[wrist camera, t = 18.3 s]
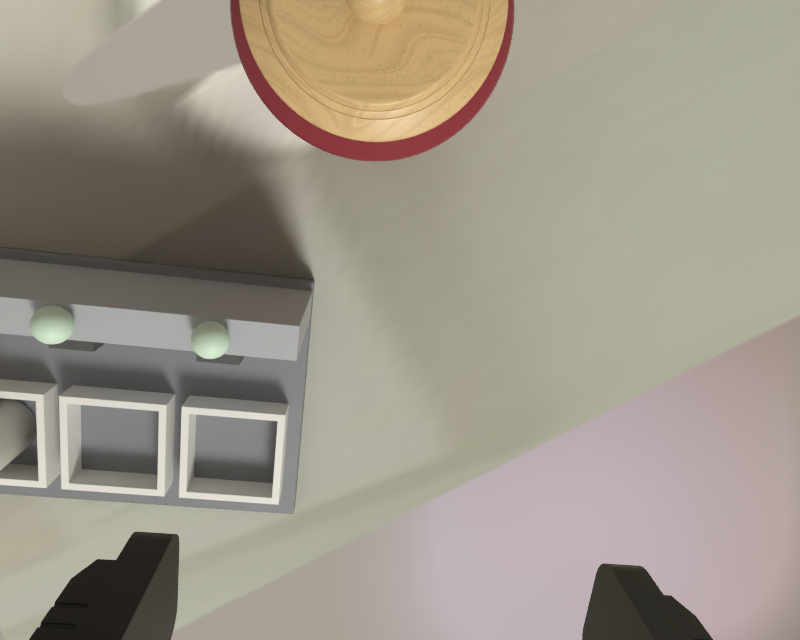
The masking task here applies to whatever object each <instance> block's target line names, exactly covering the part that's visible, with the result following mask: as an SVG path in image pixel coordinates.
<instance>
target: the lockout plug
mask: <svg viewBox="0 0 800 640" xmlns="http://www.w3.org/2000/svg"><path fill="white" fill-rule="evenodd" d="M36 436H37V423H36V418H35V416H34V414H33V413H32V412H31V410H30V409H29V408H28V407H26V406H25V405H24V404H22V403H20V402H18V401H15V400H11V399H0V470H2V469H3V468H4V467H5V466H6V465H7V464H9V463H10V462H11V461H12V460H13V459H14V458H15V457H17V456H18V455H19V454H20V453H21V452H22V451H24V450H25V449H26V448H27V447H28V446H29V445H30V444H32V443H33V441H34V440H35V438H36Z"/></svg>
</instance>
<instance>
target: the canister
mask: <svg viewBox="0 0 800 640" xmlns="http://www.w3.org/2000/svg"><path fill="white" fill-rule="evenodd" d="M230 13H231V23H232V29H233V35H234V40H235V44H236V48H237V51H238V54H239V57H240V60H241V63H242V65H243V68H244V70H245V72H246V74H247V77H248V79H249V81H250V82H251V84H252V86H253V88H254V89H255V91H256V93H257V94H258V96H259V97H260V99H261V100H262V101H263V103H264V104H265V105H266V107H267V108H268V109H269V110H270V111H271V113H272V114H273V115H274V116H275V117H276V118H277V119H278V120H279V121H280V122H281V123H282V124H283V125H284V126H285V127H287V128H288V129H289V130H290V131H292V132H293V133H294V134H295V135H297V136H298V137H300V138H301V139H303V140H304V141H306V142H308V143H309V144H311V145H313V146H315V147H317V148H319V149H321V150H323V151H326V152H328V153H331V154H334V155H337V156H340V157H344V158H349V159H353V160H361V161H391V160H398V159H403V158H407V157H411V156H415V155H417V154H420V153H423V152H426V151H428V150H430V149H432V148H434V147H436V146H438V145H440V144H441V143H443V142H445V141H446V140H448V139H449V138H451V137H452V136H454V135H455V134H456V133H457V132H459V131H460V130H461V129H462V128H463V127H464V126H466V125H467V124H468V123H469V122H470V121H471V120H472V119H473V117H474V116H475V115H476V114H477V113H478V112H479V110H480V109H481V108H482V107H483V105H484V104H485V103H486V101H487V100H488V98H489V97H490V95H491V93H492V92H493V90H494V88H495V86H496V84H497V82H498V80H499V78H500V76H501V73H502V71H503V68H504V66H505V63H506V60H507V57H508V53H509V49H510V45H511V40H512V34H513V25H514V0H230Z"/></svg>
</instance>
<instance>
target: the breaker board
mask: <svg viewBox="0 0 800 640" xmlns="http://www.w3.org/2000/svg"><path fill="white" fill-rule="evenodd" d="M313 291H314V280H306V279H296V278H287V277H277V276H268V275H259V274H249V273H240V272H230V271H221V270H211V269H202V268H192V267H183V266H173V265H164V264H154V263H145V262H136V261H126V260H117V259H107V258H98V257H88V256H79V255H69V254H60V253H50V252H41V251H32V250H22V249H13V248H3V247H0V399H11V400H15V401H18V402H20V403H22V404H24V405H25V406H26V407H28V408H29V409H30V410H31V412H32V413H33V414H34V416H35V418H36V423H37V436H36V438H35V440H34V441H33V443H32V444H30V445H29V446H28V447H27V448H26V449H25V450H24V451H22V452H21V453H20V454H19V455H18V456H17V457H15V458H14V459H13V460H12V461H11V462H10V463H9V464H7V465H6V466H5V467H4V468H3V469H2V470H0V494H13V495H27V496H41V497H56V498H70V499H84V500H98V501H113V502H127V503H141V504H156V505H170V506H184V507H198V508H213V509H227V510H241V511H256V512H270V513H284V514H294V508H295V501H296V489H297V477H298V466H299V454H300V442H301V431H302V419H303V408H304V396H305V384H306V373H307V361H308V349H309V338H310V326H311V315H312V303H313Z"/></svg>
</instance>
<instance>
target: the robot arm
mask: <svg viewBox="0 0 800 640" xmlns="http://www.w3.org/2000/svg"><path fill="white" fill-rule="evenodd" d="M178 568H179V537H178V535H177V534H164V533H149V532H134V533H133V534H132V535H131V537H130V538H129V540H128V542H127V543H126V545H125V547H124V548H123V550H122V552H121V553H120V555H119V556H118V558H117V560H101V559H97V560H96V561H94V562H93V563H92V564H90V565H89V566H88V567H86V568H85V569H84V570H82V571H81V572H80V573H78V574H77V575H76V576H74V577H73V578H71V580H70V581H69V583H68V584H67V586H66V587H65V589H64V590H63V591H62V593H61V594H60V596H59V597H58V599H57V600H56V602H55V605H54V607H51V609H50V610H49V612H48V613H47V615H46V616H45V617H44V619H43V620H42V622H41V626H40V628H39V627H38V628H37V629H36V630H35V632H34V633H33V635H32V636H31V638H30V639H29V640H171V636H172V633H173V629H174V624H175V619H176V613H177V600H178ZM582 639H583V640H713V639H712V638H711V636H710V635H709V634H708V632H707V631H706V630H705V628H704V627H703V625H702V624H701V623H700V621H699V620H698V619H697V617H696V616H695V615H694V614H692V613H691V612H690V611H689V610H688V609H686V608H685V607H684V606H683V605H681V604H680V603H679V602H678V601H676V600H675V599H674V598H673V597H672V596H667V595H663V594H662V592H661V591H660V589H659V588H658V586H657V585H656V583H655V582H654V581H653V579H652V578H651V576H650V575H649V573H648V572H647V571H646V570H645V569H644V568H643V567H641V566H632V565H616V564H602V565H600V567H599V568H598V570H597V573H596V577H595V581H594V586H593V590H592V594H591V598H590V602H589V606H588V611H587V615H586V619H585V623H584V628H583V638H582Z"/></svg>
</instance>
